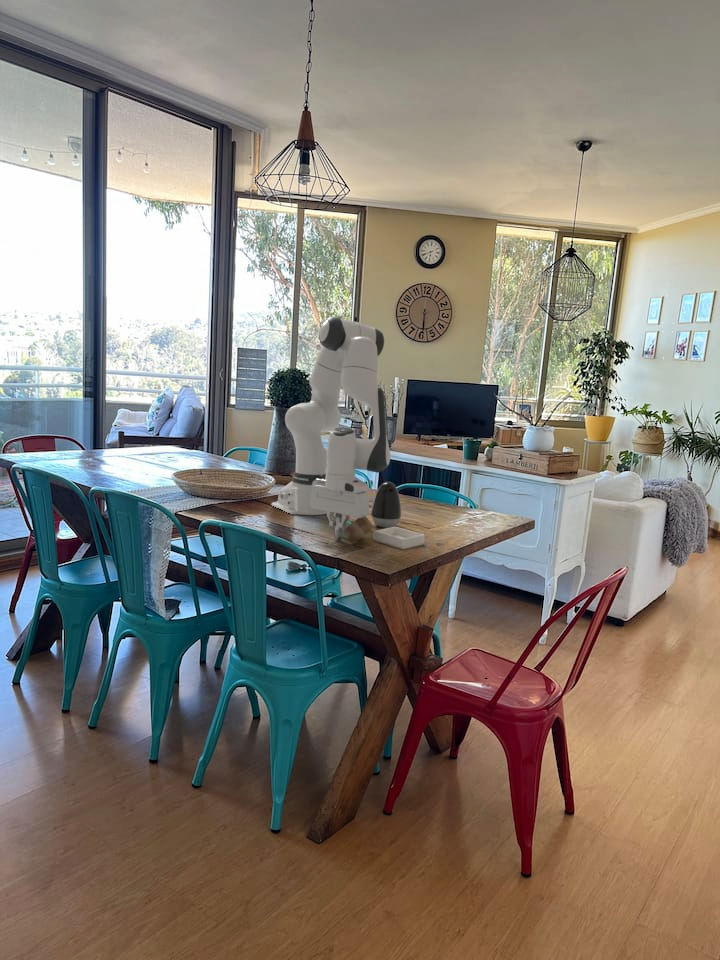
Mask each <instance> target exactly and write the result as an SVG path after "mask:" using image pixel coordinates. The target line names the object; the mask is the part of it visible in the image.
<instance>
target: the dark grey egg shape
mask: <svg viewBox="0 0 720 960" xmlns="http://www.w3.org/2000/svg"><path fill="white" fill-rule="evenodd" d="M374 496H375V497H374V498H373V502H372V505H371V510H370V515H371V518H372V521H373V523H374V524H375V525H376V526H377V527H380V528H383V529H385V528H390V527H396V526H397V525H398V524H399V522H400V521H401V518H402V504H401V498H400V493H399V490H398V488H397V486H396V485H395V484H394V483H393V482H391V481H385V482H383V483H381V485H380V486H379V487H378V489H377V492H376V493H375V495H374Z"/></svg>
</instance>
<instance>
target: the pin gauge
mask: <svg viewBox="0 0 720 960" xmlns="http://www.w3.org/2000/svg"><path fill="white" fill-rule="evenodd" d="M334 515H335V519H334V520H335V526H334V538H333V539H334V542H335V541H336V542H335V543H342V540H343V539H342V538H343V537H342V529H341V528H339V527H338V526H339V522H342V520H343V518H342V514H339V513H334Z"/></svg>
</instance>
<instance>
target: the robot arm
mask: <svg viewBox="0 0 720 960" xmlns="http://www.w3.org/2000/svg"><path fill="white" fill-rule="evenodd" d="M318 332H319V333H318V340H319V342H320V345H321V348H320V350H319V352H318V355H317V357H316V360H315V363H314V365H313V369H312V373H311V375H310V378H309V381H308V382H309V386H310V388H311V398H310V399H311V400H310V401H309V402H300V403H297V404H295V405H293V406H291V407H290V408H288V409H287V411H286V413H285V416H284V422H285V426H286V428H287V430H288V431H290V433H291V435H292V438H293V442H294V446H295V471H293V472H291V474H290V477H291V476H292V478H291V481H290V482H289V483H288V484H286V485H285V486H283V487H282V488H281V489H280V490H279V491H278V497H277V501H273V502H272V503H271V504H270V506H271V505H272V506H271V507H273V506H274V508H275V507H276V508H275V509H277V508H279V509H281V510H283V511H282V512H284V511H285V512H284V513H286V512H287V513H286V514H288V513H290V514H289V515H301V516H302V515H303V516H322V515H325V514H326V516H327V519H328V521H329V523H328V526H329V527H334V528H335V520H336V519H335V517H334V515H335V514H336V513H339V514H342V518H343V520H342V522H339V526H338V527H339V528H341V529H344V528H346V522H347V521H348V520H350V518H351V517H354V518H357V519H358V518H363V517H367V516H368V515H369V513H370V497H369V493H368V491H369V488H370V487H369V484H368V483H366V482H365V481H363V480H361V479H359V478H358V477H357V476H356V470H362V471H367V472H373V473H378V474H379V473H381V472H383V471H384V470H385V469H387V468H388V466H389V465H390V462H391V450H390V443H389V434H388V433H389V430H388V428H389V427H388V414H387V402H386V401H387V399H386V395H385V392H384V390H383V389H382V388H381V387H379V384H378V380H377V374H378V359H379V358H378V357H379V356H380V355H381V353H382V352H383V349H384V346H385V337H384V334H383V332H382V331H381V330H379V329H378V328H375V327H373V326H372V327H371V326H369V325H367V324H364V323H363V322H359V321H354V320H349V319H343V318H341V317H339V316H329V317H327V318H326V319H324V320H323V322H322V324H321V325H320V328H319V331H318ZM341 389H342V390H343V392H344V393H345V394H346V395H347V396H349V397H350V398H352V399H353V400H354V401H356V402H359V403H360V404H363V405H365V406H367V407H368V408H369V409H370V410H371V412H372V419H373V438H371V439H370V438H358V437H356V431H355V430H354V429H352V428H349V427H338V426H339V424H340V423H341V418H342V417H341V415H342V414H341V411H340V410H339V399H340V394H341ZM328 432H329V436H328V441H327V446H326V447H327V448H326V447H324V443H323V441H322V433H328ZM279 509H278V510H279ZM281 510H280V511H281Z"/></svg>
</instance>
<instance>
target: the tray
mask: <svg viewBox="0 0 720 960" xmlns="http://www.w3.org/2000/svg"><path fill="white" fill-rule="evenodd" d="M372 536H373V537H372V540H373V541H375V542H377V543H381V544H384V545H387V546H391V547H394V548H397V549H401V550H405V549H409V548H415V547H417V546H418V547H419V546H423V545H425V536H426V535H425V534H423V533H419V532H417V531H413V530H409V529H405V528H401V527H398V526H394V527H390V528H381V529H377V530H376V529H375V530H373V532H372Z"/></svg>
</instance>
